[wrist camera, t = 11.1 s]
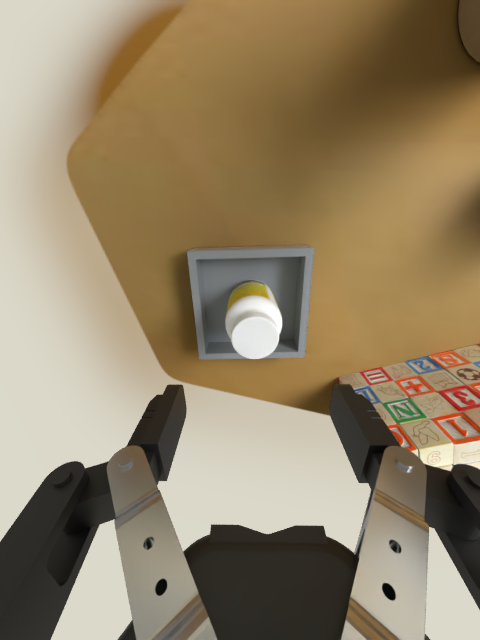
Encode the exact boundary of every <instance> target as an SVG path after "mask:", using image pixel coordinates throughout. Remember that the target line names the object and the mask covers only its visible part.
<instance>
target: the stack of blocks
mask: <svg viewBox="0 0 480 640" xmlns="http://www.w3.org/2000/svg"><path fill="white" fill-rule="evenodd" d="M338 380H339V384H350V385H351V386H352V388H353V389H354V391H355V392H356V394H362V395H363V396H364V397H366V398H367V399H368V400H369V401H371V403H372V404H373V406H374V407H375V409H376V411H377V412H378V413H379V414H380V416H381V419H383V420H384V422H385V423H386V425H387V426H388V428H389V429H390V431H391V432H392V434H393V435H394V436H395V438H396V439H397V441H398V442H399V444H400V445H401V447H403V448H405V449H408V450H410V451H411V452H413V453H414V454H415V455H417V456H418V457H419V458H420V459H421V460H422V462H423V463H424V464H427V465H430V466H434V467H437V468H441V469H445V470H448V471H451V469H452V467H453V466H454V465H456V464H467V465H471V466H473V467H476V468H478V469H480V344H479V345H477V346H476V345H472V346H468V347H464V348H459V349H455V350H453V351H447V352H443V353H438V354H434V355H429V356H428V357H423V358H419V359H415V360H410V361H406V362H403V363H398V364H394V365H390V366H386V367H380V368H375V369H371V370H367V371H363V372H358V373H354V374H349V375H345V376H341V377H338Z"/></svg>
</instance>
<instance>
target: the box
mask: <svg viewBox="0 0 480 640" xmlns="http://www.w3.org/2000/svg"><path fill="white" fill-rule="evenodd" d="M187 257H188V266H189V274H190V283H191V291H192V300H193V308H194V317H195V325H196V334H197V342H198V351H199V360H204V359H249V358H246V357H243V356H241V355H240V354H239V353H238V352H237V351H236V350H235V349H234V347H233V345H232V342H231V339H230V337H229V336H228V334H227V331H226V326H225V319H226V312H227V307H228V301H229V296H230V294H231V292H232V290H233V289H234V287H235V286H236V285H238V284H239V283H241V282H243V281H245V280H258V281H261V282H263V283H265V284H266V285H267V286H268V287H269V288H270V289H271V291H272V293H273V295H274V298H275V300H276V303H277V305H278V308H279V310H280V313H281V316H282V329H281V332H280V334H279V342H278V345H277V347H276V349H275V350H274V351H273V352H272V353H271V354H270V355H268V356H266V357H264V358H304V357H305V346H306V335H307V324H308V313H309V302H310V291H311V280H312V269H313V258H314V247H311V246H308V245H306V244H304V245H272V246H240V247H208V248H193V249H191V250H189V251H187Z"/></svg>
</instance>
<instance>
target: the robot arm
mask: <svg viewBox="0 0 480 640" xmlns="http://www.w3.org/2000/svg"><path fill="white" fill-rule="evenodd" d="M458 20H459V31H460V35H461V38H462V42H463V45H464V46H465V48H466V50H467V51H468V53H469V55H471V56H472V57H473V58H474V59H475V60H476V61H477V62H479V63H480V0H460V2H459V13H458ZM330 416H331V419H332V421H333V424H334V426H335V428H336V431H337V433H338V435H339V438H340V440H341V442H342V445H343V447H344V449H345V452H346V454H347V456H348V459H349V461H350V463H351V466H352V468H353V470H354V473H355V475H356V478H357V480H358V482H359V483H369V486H370V488H371V493H370V496H369V500H368V504H367V508H366V511H365V515H364V520H363V523H362V527H361V531H360V535H359V538H358V542H357V545H356V549H355V552H354V553H353V552H352V551H351V550H349V549H348V548H347V547H345V546H344V545H342V544H341V543H339V542H338V541H336V540H333V539H331V538H329V537H326V534H325V530H324V527H323V526H293V527H290V528H287V529H284V530H281V531H278V532H275V533H272V534H264V533H261V532H258V531H255V530H252V529H249V528H246V527H243V526H240V525H211V532H210V535H207V536H205V537H203V538H201V539H199V540H197V541H196V542H194V543H193V544H191V545H190V546H189V547H188V548H187V549H186V550H185V551H184V552H183V550H182V548H181V545H180V543H179V540H178V537H177V535H176V532H175V529H174V527H173V524H172V521H171V519H170V516H169V514H168V511H167V508H166V506H165V503H164V500H163V498H162V495H161V493H160V491H159V490H158V488H157V485H158V482H159V481H167V478H168V475H169V471H170V468H171V465H172V461H173V458H174V455H175V451H176V448H177V445H178V441H179V438H180V435H181V431H182V428H183V425H184V421H185V418H186V401H185V395H184V389H183V385H167V387H166V389H165V391H164V393H163V395H156V396H155V397H154V398H153V399H152V400H151V401H150V402H149V404H148V406H147V408H146V410H145V412H144V414H143V416H142V419H141V420H140V421H139V423H138V425H137V427H136V429H135V431H134V433H133V435H132V437H131V439H130V441H129V443H128V445H127V446H126V447H125V448H122V449H121V450H119V451H118V452H116V453H115V454H114V455H113V456H112V458H111V459H110V460H109V461H108V462H106V463H103V464H99V465H96V466H92V467H89V468H84V466H83V464H82V463H80V462H77V461H74V462H69V463H66V464H63V465H61V466H60V467H58V468H56V469H55V470H54V471H52V472H51V473H50V474H49V475H48V476H47V477H46V478H45V480H44V481H43V482H42V484H41V485H40V487H39V488H38V489H37V491H36V492H35V494H34V495H33V497H32V498H31V499H30V501H29V502H28V504H27V505H26V506H25V508H24V509H23V511H22V512H21V513H20V515H19V517H18V518H17V519H16V521H15V522H14V524H13V525H12V526H11V528H10V529H9V530H8V532H7V533H6V535H5V536H4V538H3V539H2V540H1V542H0V640H50V639H51V637H52V634H53V632H54V630H55V628H56V625H57V623H58V621H59V618H60V616H61V614H62V611H63V609H64V606H65V604H66V602H67V599H68V597H69V595H70V592H71V590H72V588H73V585H74V583H75V580H76V578H77V576H78V573H79V571H80V569H81V567H82V564H83V562H84V560H85V557H86V555H87V553H88V550H89V548H90V545H91V543H92V541H93V538H94V536H95V534H96V531H97V529H98V527H99V524H102V523H105V522H108V521H110V520H113V519H115V529H116V534H117V539H118V544H119V550H120V555H121V560H122V566H123V571H124V576H125V581H126V587H127V592H128V598H129V603H130V608H131V614H132V619H133V620H132V621H131V622H130V624H129V625H128V626H127V628H126V629H125V631H124V632H123V633H122V635H121V636H120V637H119V639H118V640H430V639H429V638H428V636H426V634H425V613H426V590H427V587H426V586H427V566H428V564H427V563H428V541H429V527H432V528H435V530H436V532H437V534H438V536H439V538H440V539H441V541H442V543H443V545H444V547H445V548H446V550H447V552H448V554H449V556H450V557H451V559H452V561H453V563H454V564H455V566H456V568H457V570H458V571H459V573H460V575H461V577H462V579H463V580H464V582H465V584H466V586H467V588H468V590H469V591H470V593H471V595H472V596H473V599H474V600H475V602H476V604H477V606H478V608H479V609H480V469H478V468H476V467H473V466H471V465H467V464H456V465H454V466H453V467H452V469H451V471H448V470H445V469H441V468H437V467H434V466H430V465H427V464H424V463H423V462H422V460H421V459H420V458H419V457H418V456H417V455H415V454H414V453H413V452H411V451H410V450H408V449H405V448H403V447H401V445H400V444H399V442H398V441H397V439H396V438H395V436H394V435H393V434H392V432H391V431H390V429H389V428H388V426H387V425H386V423H385V422H384V420H383V419H381V416H380V414H379V413H378V412H377V411H376V409H375V407H374V406H373V404H372V403H371V401H369V400H368V399H367V398H366V397H364V396H363V395H362V394H356V392H355V391H354V389H353V388H352V386H351V385H350V384H334V385H333V390H332V396H331V401H330Z"/></svg>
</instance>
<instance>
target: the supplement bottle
mask: <svg viewBox="0 0 480 640" xmlns="http://www.w3.org/2000/svg"><path fill="white" fill-rule="evenodd" d="M225 326H226V331H227V334H228V336H229V337H230V339H231V342H232V345H233V347H234V349H235V350H236V351H237V352H238V353H239V354H240V355H241V356H243V357H246V358H249V359H260V358H264V357H266V356H268V355H270V354H271V353H272V352H273V351H274V350H275V349H276V347H277V345H278V342H279V334H280V332H281V329H282V316H281V313H280V310H279V308H278V305H277V303H276V300H275V298H274V295H273V293H272V291H271V289H270V288H269V287H268V286H267V285H266V284H265V283H263V282H261V281H258V280H245V281H243V282H241V283H239V284H238V285H236V286H235V287H234V289H233V290H232V292H231V294H230V296H229V301H228V307H227V312H226V319H225Z"/></svg>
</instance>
